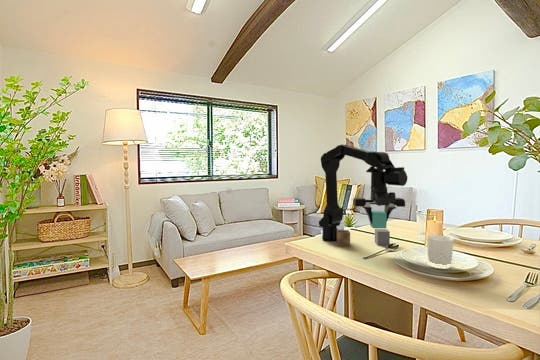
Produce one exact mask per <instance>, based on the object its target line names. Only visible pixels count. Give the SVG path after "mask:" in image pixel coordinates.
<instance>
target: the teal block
mask: <svg viewBox="0 0 540 360" xmlns="http://www.w3.org/2000/svg"><path fill="white" fill-rule="evenodd" d="M371 213H372V224H370V223H369V226H370V227H371V228H372V229H387V223H386V222H388V220H387V213H386V212H384V210H371Z"/></svg>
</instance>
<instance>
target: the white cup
mask: <svg viewBox="0 0 540 360" xmlns="http://www.w3.org/2000/svg"><path fill="white" fill-rule="evenodd" d="M426 240H427V242H426V243H427V258H428V260H429V261H430V262H432V263H435V264H442V265H447V264H451V265H452V261H453V251H454V243H455V241H454V238H453V237H450V236H447V235H440V234H439V235H438V234H432V235H431V234H429V235H427V239H426Z"/></svg>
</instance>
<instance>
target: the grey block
mask: <svg viewBox="0 0 540 360" xmlns="http://www.w3.org/2000/svg"><path fill="white" fill-rule="evenodd" d="M390 234H391V232H390V231H389V230H388V229H387V228H374V243H375V244H376V246H386V247H387V246H388V245H390V241H391V240H390V237H391V235H390ZM390 246H391V245H390Z"/></svg>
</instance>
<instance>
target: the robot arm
mask: <svg viewBox="0 0 540 360" xmlns="http://www.w3.org/2000/svg"><path fill="white" fill-rule="evenodd" d="M346 156H348V157H352V158H355V159H358V160H361V161H363V162H365V164H366V165H369V166H370V167H369V168H368V169H367V170H366V173H370V199H366V198H364V197H354V198H353V199H352V204H353V206H354V207H360V208H363V209H364V210H365V213H366V215H367V217H368V221H369V225H370V224H372V213H371V211H373V209H372V208H373V207H372V206H371V205H376V206H378V207H381V206H384V210H383V211H384V212H386V213H387V222H388V220H389V217H390V216H391V213H392V211H393V210H395V209H397V207H399V208H400V207H401V208H402V207H406V200H405V199H404V198H402V197H397V196H396V193H395V192H394V191H393V192H391V191H390V192H388V187H387V186H400V187H403V186H405V185H407V183H408V175H407V172H406V171H405V167H404V166H403V167H402V166H400V167H398V166H397V167H395V165H394V164H393V163H392V161H391V159H390V156H389V153H387V152H384V151H369V150H365V149H361V148H357V147H354V146H351V145H347V144H338V145H337V146H335V147H334V148H332V149H330V150H328V151H327V152H324V153H323V154H322V155H321V156H320V164H321V168H322V170H323V171H324V173H325V174H324V175H325V193H326V206H325V207H324V210H323V216H322V218H321V219H320V220H319V221H318V225H319V228H320V227H321V229H322V234H321V239H322V241H324V242H326V241H327V242H337V230H339V229H338V227H339V226H340V225H341V222H342V221H343V217H345V215H344V209H343V207H340V206H339V203H338V202H339V201H338V199H339V198H338V181H337V180H338V178H337V177H338V176H337V174H338V170H339V168H340V163H341V161H342V160H343V159H344V158H345V157H346ZM387 222H386V224H387Z"/></svg>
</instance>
